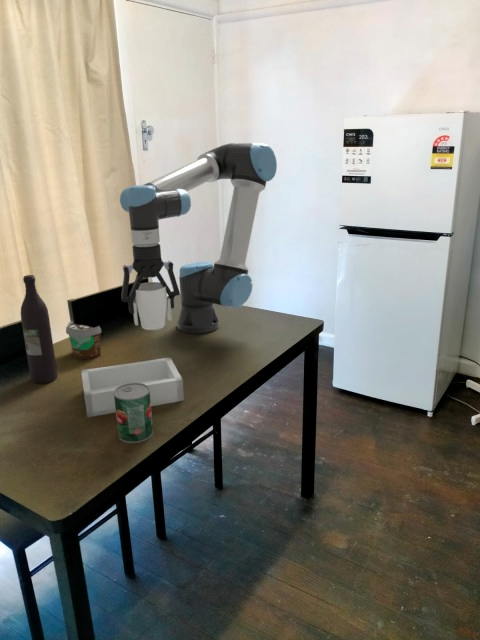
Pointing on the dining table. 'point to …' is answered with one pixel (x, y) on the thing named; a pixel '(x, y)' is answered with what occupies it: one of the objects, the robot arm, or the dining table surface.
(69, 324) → the food container
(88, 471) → the dining table surface
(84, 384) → the bin
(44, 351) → the wine bottle
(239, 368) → the dining table surface
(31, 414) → the dining table surface
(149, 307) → the cup
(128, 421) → the canned tomato
